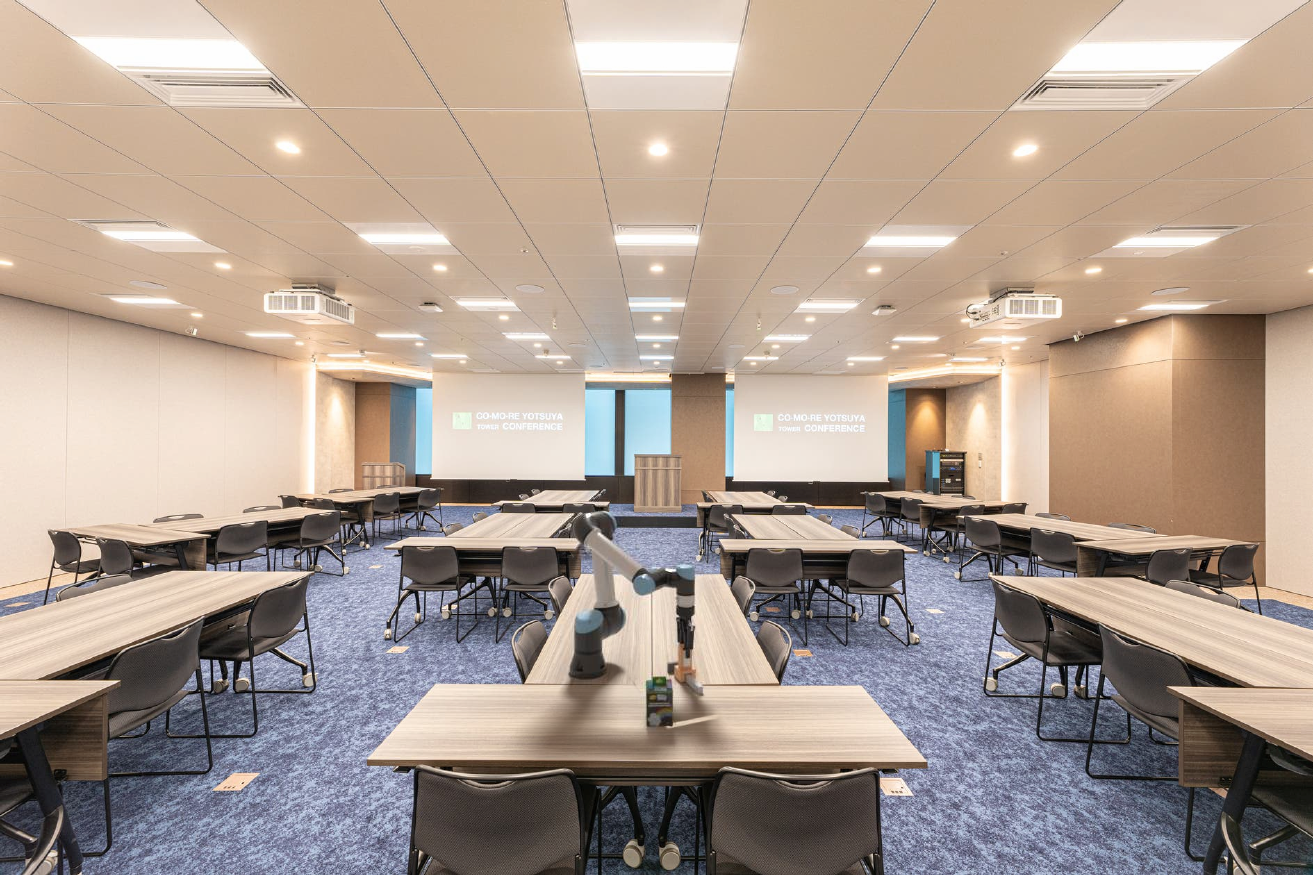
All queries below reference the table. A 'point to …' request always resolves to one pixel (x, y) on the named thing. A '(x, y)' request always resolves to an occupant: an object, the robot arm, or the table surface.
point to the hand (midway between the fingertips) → (685, 664)
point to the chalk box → (659, 702)
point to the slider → (680, 669)
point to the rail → (687, 678)
